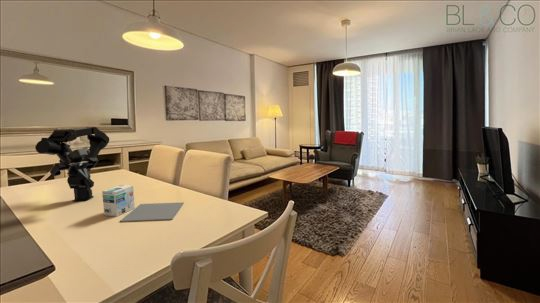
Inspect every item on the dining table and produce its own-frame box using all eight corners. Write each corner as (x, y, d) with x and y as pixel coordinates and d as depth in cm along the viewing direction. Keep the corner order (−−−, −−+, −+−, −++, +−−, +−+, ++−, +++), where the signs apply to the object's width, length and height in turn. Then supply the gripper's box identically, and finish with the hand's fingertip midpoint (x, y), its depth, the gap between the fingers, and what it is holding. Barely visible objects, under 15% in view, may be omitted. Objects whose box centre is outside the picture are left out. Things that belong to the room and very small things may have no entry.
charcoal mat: (120, 222, 98) (119, 220, 98) (140, 204, 118) (140, 203, 118) (172, 219, 101) (172, 218, 101) (183, 203, 120) (183, 202, 120)
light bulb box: (117, 216, 104) (115, 191, 103) (103, 215, 105) (101, 191, 104) (135, 208, 114) (133, 185, 113) (122, 207, 116) (121, 184, 114)
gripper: (51, 144, 102) (75, 171, 101) (93, 140, 120) (114, 164, 119) (39, 162, 105) (62, 189, 104) (82, 156, 123) (102, 179, 122)
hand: (87, 179), depth 112 cm, fingers closed
